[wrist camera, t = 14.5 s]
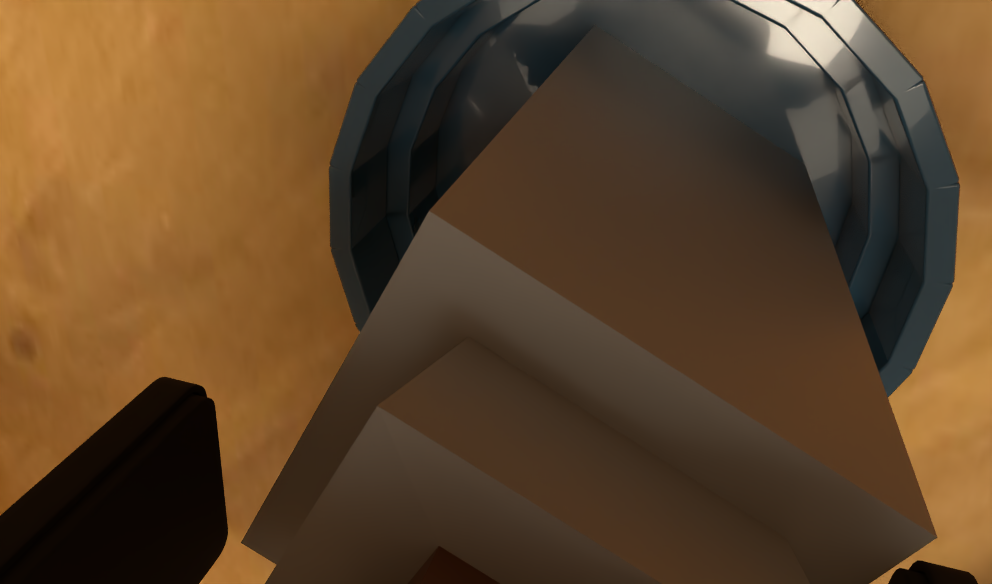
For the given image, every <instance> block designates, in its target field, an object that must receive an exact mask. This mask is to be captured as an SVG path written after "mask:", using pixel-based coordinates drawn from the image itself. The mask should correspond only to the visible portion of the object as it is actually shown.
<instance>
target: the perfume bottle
mask: <svg viewBox="0 0 992 584" xmlns="http://www.w3.org/2000/svg"><path fill="white" fill-rule="evenodd" d="M936 538H937V535H936V532H935V529H934V527H933V524H932V521H931V518H930V515H929V513H928V510H927V507H926V504H925V501H924V498H923V496H922V493H921V490H920V487H919V484H918V482H917V479H916V476H915V473H914V470H913V468H912V465H911V462H910V459H909V456H908V453H907V451H906V448H905V445H904V442H903V439H902V437H901V434H900V431H899V428H898V425H897V422H896V420H895V417H894V414H893V411H892V408H891V406H890V403H889V400H888V397H887V394H886V392H885V389H884V386H883V383H882V380H881V377H880V375H879V372H878V369H877V366H876V363H875V361H874V358H873V355H872V352H871V349H870V346H869V344H868V341H867V338H866V335H865V332H864V330H863V327H862V324H861V321H860V318H859V316H858V313H857V310H856V307H855V304H854V301H853V299H852V296H851V293H850V290H849V287H848V285H847V282H846V279H845V276H844V273H843V270H842V268H841V265H840V262H839V259H838V256H837V254H836V251H835V248H834V245H833V242H832V240H831V237H830V234H829V231H828V228H827V225H826V223H825V220H824V217H823V214H822V211H821V209H820V206H819V203H818V200H817V197H816V194H815V192H814V189H813V186H812V183H811V180H810V178H809V175H808V172H807V169H806V166H805V164H803V163H802V162H800V161H799V160H797V159H796V158H794V157H793V156H791V155H790V154H788V153H787V152H785V151H784V150H782V149H781V148H779V147H778V146H776V145H775V144H773V143H772V142H770V141H769V140H767V139H766V138H764V137H763V136H761V135H760V134H758V133H757V132H755V131H754V130H752V129H751V128H749V127H747V126H746V125H744V124H743V123H741V122H740V121H738V120H737V119H735V118H734V117H732V116H731V115H729V114H728V113H726V112H725V111H723V110H722V109H720V108H719V107H717V106H716V105H714V104H713V103H711V102H710V101H708V100H707V99H705V98H704V97H702V96H701V95H699V94H698V93H696V92H695V91H693V90H692V89H690V88H689V87H687V86H686V85H684V84H683V83H681V82H680V81H678V80H677V79H675V78H674V77H672V76H671V75H669V74H668V73H666V72H665V71H663V70H662V69H660V68H659V67H657V66H656V65H654V64H653V63H651V62H650V61H648V60H647V59H645V58H644V57H642V56H641V55H639V54H638V53H636V52H635V51H633V50H632V49H630V48H629V47H627V46H625V45H624V44H622V43H621V42H619V41H618V40H616V39H615V38H613V37H612V36H610V35H609V34H607V33H606V32H604V31H603V30H601V29H600V28H598V27H597V26H595V25H594V27H593V28H592V29H591V30H590V31H589V32H588V33H587V34H586V35H585V37H584V38H583V39H582V40H581V41H580V42H579V43H578V44H577V46H576V47H575V48H574V49H573V50H572V51H571V52H570V53H569V55H568V56H567V57H566V58H565V59H564V60H563V61H562V62H561V64H560V65H559V66H558V67H557V68H556V69H555V70H554V71H553V73H552V74H551V75H550V76H549V77H548V78H547V79H546V80H545V82H544V83H543V84H542V85H541V86H540V87H539V88H538V89H537V90H536V92H535V93H534V94H533V95H532V96H531V97H530V98H529V99H528V101H527V102H526V103H525V104H524V105H523V106H522V107H521V108H520V110H519V111H518V112H517V113H516V114H515V115H514V116H513V117H512V119H511V120H510V121H509V122H508V123H507V124H506V125H505V126H504V128H503V129H502V130H501V131H500V132H499V133H498V134H497V135H496V136H495V138H494V139H493V140H492V141H491V142H490V143H489V144H488V145H487V147H486V148H485V149H484V150H483V151H482V152H481V153H480V154H479V156H478V157H477V158H476V159H475V160H474V161H473V162H472V163H471V165H470V166H469V167H468V168H467V169H466V170H465V171H464V172H463V174H462V175H461V176H460V177H459V178H458V179H457V180H456V181H455V182H454V184H453V185H452V186H451V187H450V188H449V189H448V190H447V191H446V193H445V194H444V195H443V196H442V197H441V198H440V199H439V200H438V202H437V203H436V204H435V205H434V206H433V207H432V208H431V209H430V211H429V212H428V214H427V216H426V217H425V219H424V221H423V223H422V224H421V226H420V228H419V230H418V232H417V233H416V235H415V237H414V239H413V240H412V242H411V244H410V246H409V247H408V249H407V251H406V253H405V254H404V256H403V258H402V260H401V261H400V263H399V265H398V267H397V269H396V270H395V272H394V274H393V276H392V277H391V279H390V281H389V283H388V284H387V286H386V288H385V290H384V291H383V293H382V295H381V297H380V298H379V300H378V302H377V304H376V306H375V307H374V309H373V311H372V313H371V314H370V316H369V318H368V320H367V321H366V323H365V325H364V327H363V328H362V330H361V332H360V334H359V336H358V337H357V339H356V341H355V343H354V344H353V346H352V348H351V350H350V351H349V353H348V355H347V357H346V358H345V360H344V362H343V364H342V365H341V367H340V369H339V371H338V373H337V374H336V376H335V378H334V380H333V381H332V383H331V385H330V387H329V388H328V390H327V392H326V394H325V395H324V397H323V399H322V401H321V402H320V404H319V406H318V408H317V410H316V411H315V413H314V415H313V417H312V418H311V420H310V422H309V424H308V425H307V427H306V429H305V431H304V432H303V434H302V436H301V438H300V440H299V441H298V443H297V445H296V447H295V448H294V450H293V452H292V454H291V455H290V457H289V459H288V461H287V462H286V464H285V466H284V468H283V469H282V471H281V473H280V475H279V477H278V478H277V480H276V482H275V484H274V485H273V487H272V489H271V491H270V492H269V494H268V496H267V498H266V499H265V501H264V503H263V505H262V506H261V508H260V510H259V512H258V514H257V515H256V517H255V519H254V521H253V522H252V524H251V526H250V528H249V529H248V531H247V533H246V535H245V536H244V538H243V540H242V542H241V543H242V544H244V545H245V546H247V547H249V548H250V549H252V550H254V551H255V552H257V553H259V554H260V555H262V556H263V557H265V558H267V559H268V560H270V561H272V562H273V563H275V564H277V565H276V567H275V568H274V570H273V572H272V573H271V575H270V576H269V578H268V579H267V581H266V583H265V584H869V583H871V582H872V581H874V580H875V579H877V578H878V577H880V576H881V575H883V574H884V573H886V572H887V571H889V570H890V569H891V568H893V567H894V566H896V565H897V564H899V563H900V562H902V561H903V560H905V559H906V558H908V557H909V556H911V555H912V554H914V553H915V552H917V551H918V550H919V549H921V548H922V547H924V546H925V545H927V544H928V543H930V542H931V541H933V540H934V539H936Z"/></svg>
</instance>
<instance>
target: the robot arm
mask: <svg viewBox="0 0 992 584" xmlns="http://www.w3.org/2000/svg"><path fill="white" fill-rule="evenodd" d="M227 535H228V525H227V515H226V506H225V496H224V486H223V477H222V467H221V458H220V448H219V438H218V429H217V419H216V410H215V404H214V401H213V400H212V399H210V398H207V394H206V391H205V389H204V388H203V387H202V386H200V385H197V384H193V383H189V382H185V381H180V380H176V379H172V378H168V377H161V378H159V379H157V380H155V381H154V382H153V383H152V384H150V385H149V386H148V387H147V388H146V389H145V390H144V391H142V392H141V393H140V394H139V395H138V396H137V397H135V398H134V399H133V400H132V401H131V402H130V403H129V404H127V405H126V406H125V407H124V408H123V409H122V410H121V411H119V412H118V413H117V414H116V415H115V416H114V417H113V418H111V419H110V420H109V421H108V422H107V423H106V424H105V425H103V426H102V427H101V428H100V429H99V430H98V431H97V432H95V433H94V434H93V435H92V436H91V437H90V438H89V439H87V440H86V441H85V442H84V443H83V444H82V445H81V446H79V447H78V448H77V449H76V450H75V451H74V452H73V453H71V454H70V455H69V456H68V457H67V458H66V459H65V460H63V461H62V462H61V463H60V464H59V465H58V466H57V467H55V468H54V469H53V470H52V471H51V472H50V473H48V474H47V475H46V476H45V477H44V478H43V479H42V480H40V481H39V482H38V483H37V484H36V485H35V486H34V487H32V488H31V489H30V490H29V491H28V492H27V493H26V494H24V495H23V496H22V497H21V498H20V499H19V500H18V501H16V502H15V503H14V504H13V505H12V506H11V507H10V508H8V509H7V510H6V511H5V512H4V513H3V514H2V515H0V584H199V583H200V582H201V580H202V579H203V578H204V576H205V575H206V574H207V572H208V571H209V569H210V568H211V567H212V565H213V564H214V563H215V561H216V560H217V559H218V557H219V556H220V554H221V552H222V551H223V548H224V546H225V543H226V540H227ZM888 584H978V583H977V581H976V579H975V577H974V576H973V575H971V574H970V573H969V572H965V571H961V570H957V569H953V568H949V567H945V566H941V565H937V564H932V563H928V562H924V561H916V562H915V563H913V564H912V566H911V567H910V568H909V570H907V569H902V568H899V569H897V570H896V571H895V572H894V574H893V575H892V577H891V579H890V581H889V583H888Z"/></svg>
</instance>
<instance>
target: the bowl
mask: <svg viewBox="0 0 992 584" xmlns="http://www.w3.org/2000/svg"><path fill="white" fill-rule="evenodd" d="M594 25H595V26H597V27H598V28H600V29H601V30H603V31H604V32H606V33H607V34H609V35H610V36H612V37H613V38H615V39H616V40H618V41H619V42H621V43H622V44H624V45H625V46H627V47H629V48H630V49H632V50H633V51H635V52H636V53H638V54H639V55H641V56H642V57H644V58H645V59H647V60H648V61H650V62H651V63H653V64H654V65H656V66H657V67H659V68H660V69H662V70H663V71H665V72H666V73H668V74H669V75H671V76H672V77H674V78H675V79H677V80H678V81H680V82H681V83H683V84H684V85H686V86H687V87H689V88H690V89H692V90H693V91H695V92H696V93H698V94H699V95H701V96H702V97H704V98H705V99H707V100H708V101H710V102H711V103H713V104H714V105H716V106H717V107H719V108H720V109H722V110H723V111H725V112H726V113H728V114H729V115H731V116H732V117H734V118H735V119H737V120H738V121H740V122H741V123H743V124H744V125H746V126H747V127H749V128H751V129H752V130H754V131H755V132H757V133H758V134H760V135H761V136H763V137H764V138H766V139H767V140H769V141H770V142H772V143H773V144H775V145H776V146H778V147H779V148H781V149H782V150H784V151H785V152H787V153H788V154H790V155H791V156H793V157H794V158H796V159H797V160H799V161H800V162H802V163H803V164H805V166H806V169H807V172H808V175H809V178H810V180H811V183H812V186H813V189H814V192H815V194H816V197H817V200H818V203H819V206H820V209H821V211H822V214H823V217H824V220H825V223H826V225H827V228H828V231H829V234H830V237H831V240H832V242H833V245H834V248H835V251H836V254H837V256H838V259H839V262H840V265H841V268H842V270H843V273H844V276H845V279H846V282H847V285H848V287H849V290H850V293H851V296H852V299H853V301H854V304H855V307H856V310H857V313H858V316H859V318H860V321H861V324H862V327H863V330H864V332H865V335H866V338H867V341H868V344H869V346H870V349H871V352H872V355H873V358H874V361H875V363H876V366H877V369H878V372H879V375H880V377H881V380H882V383H883V386H884V389H885V392H886V394H887V397H889V396H890V395H891V394H892V393H893V392H894V391H895V390H896V389H897V388H898V387H899V386H900V385H901V383H902V382H903V381H904V380H905V379H906V378H907V377H908V376H909V375H910V374H911V373H912V371H913V369H915V367H916V365H917V363H918V360H919V358H920V356H921V354H922V352H923V350H924V347H925V345H926V343H927V341H928V339H929V337H930V334H931V332H932V330H933V328H934V326H935V324H936V321H937V319H938V317H939V315H940V313H941V311H942V308H943V306H944V304H945V302H946V300H947V298H948V295H949V293H950V291H951V289H952V287H953V282H954V279H955V262H956V245H957V227H958V210H959V193H960V184H959V177H958V174H957V171H956V168H955V165H954V162H953V159H952V157H951V154H950V151H949V148H948V145H947V142H946V139H945V136H944V134H943V131H942V128H941V125H940V122H939V119H938V116H937V113H936V110H935V108H934V105H933V102H932V99H931V96H930V93H929V90H928V87H927V85H926V82H925V81H924V80H923V76H922V75H921V74H920V73H919V72H918V71H917V69H916V68H915V67H914V66H913V65H912V64H911V63H910V62H909V60H908V59H907V58H906V57H905V56H904V55H903V54H902V53H901V51H900V50H899V49H898V48H897V47H896V46H895V45H894V43H893V42H892V41H891V40H890V39H889V38H888V37H887V36H886V34H885V33H884V32H883V31H882V30H881V29H880V28H879V26H878V25H877V24H876V23H875V22H874V21H873V20H872V19H871V17H870V16H869V15H868V14H867V13H866V12H865V11H864V10H863V8H862V7H861V6H860V5H859V4H858V3H857V2H856V0H420V1H418V2H417V3H416V5H414V6H412V8H411V9H410V10H409V12H408V13H407V14H406V16H405V17H404V18H403V20H402V21H401V22H400V23H399V25H398V26H397V27H396V29H395V30H394V31H393V33H392V34H391V35H390V37H389V38H388V39H387V41H386V42H385V43H384V44H383V46H382V47H381V48H380V50H379V51H378V52H377V54H376V55H375V56H374V58H373V59H372V60H371V61H370V63H369V64H368V65H367V67H366V68H365V69H364V71H363V72H362V73H361V75H360V76H359V77H358V79H357V82H356V83H355V85H354V89H353V92H352V95H351V98H350V101H349V104H348V107H347V110H346V114H345V117H344V120H343V123H342V126H341V129H340V132H339V135H338V138H337V142H336V145H335V148H334V151H333V154H332V157H331V160H330V167H329V203H330V247H331V252H332V255H333V258H334V262H335V265H336V268H337V271H338V274H339V277H340V280H341V283H342V286H343V289H344V292H345V295H346V298H347V301H348V304H349V307H350V310H351V313H352V316H353V319H354V322H355V323H356V324H355V325H356V327H357V328H358V330H359V331H360V332H361V330H362V328H363V327H364V325H365V323H366V321H367V320H368V318H369V316H370V314H371V313H372V311H373V309H374V307H375V306H376V304H377V302H378V300H379V298H380V297H381V295H382V293H383V291H384V290H385V288H386V286H387V284H388V283H389V281H390V279H391V277H392V276H393V274H394V272H395V270H396V269H397V267H398V265H399V263H400V261H401V260H402V258H403V256H404V254H405V253H406V251H407V249H408V247H409V246H410V244H411V242H412V240H413V239H414V237H415V235H416V233H417V232H418V230H419V228H420V226H421V224H422V223H423V221H424V219H425V217H426V216H427V214H428V212H429V211H430V209H431V208H432V207H433V206H434V205H435V204H436V203H437V202H438V200H439V199H440V198H441V197H442V196H443V195H444V194H445V193H446V191H447V190H448V189H449V188H450V187H451V186H452V185H453V184H454V182H455V181H456V180H457V179H458V178H459V177H460V176H461V175H462V174H463V172H464V171H465V170H466V169H467V168H468V167H469V166H470V165H471V163H472V162H473V161H474V160H475V159H476V158H477V157H478V156H479V154H480V153H481V152H482V151H483V150H484V149H485V148H486V147H487V145H488V144H489V143H490V142H491V141H492V140H493V139H494V138H495V136H496V135H497V134H498V133H499V132H500V131H501V130H502V129H503V128H504V126H505V125H506V124H507V123H508V122H509V121H510V120H511V119H512V117H513V116H514V115H515V114H516V113H517V112H518V111H519V110H520V108H521V107H522V106H523V105H524V104H525V103H526V102H527V101H528V99H529V98H530V97H531V96H532V95H533V94H534V93H535V92H536V90H537V89H538V88H539V87H540V86H541V85H542V84H543V83H544V82H545V80H546V79H547V78H548V77H549V76H550V75H551V74H552V73H553V71H554V70H555V69H556V68H557V67H558V66H559V65H560V64H561V62H562V61H563V60H564V59H565V58H566V57H567V56H568V55H569V53H570V52H571V51H572V50H573V49H574V48H575V47H576V46H577V44H578V43H579V42H580V41H581V40H582V39H583V38H584V37H585V35H586V34H587V33H588V32H589V31H590V30H591V29H592V28H593V27H594Z"/></svg>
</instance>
